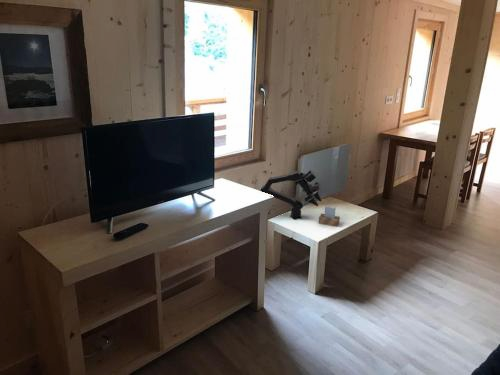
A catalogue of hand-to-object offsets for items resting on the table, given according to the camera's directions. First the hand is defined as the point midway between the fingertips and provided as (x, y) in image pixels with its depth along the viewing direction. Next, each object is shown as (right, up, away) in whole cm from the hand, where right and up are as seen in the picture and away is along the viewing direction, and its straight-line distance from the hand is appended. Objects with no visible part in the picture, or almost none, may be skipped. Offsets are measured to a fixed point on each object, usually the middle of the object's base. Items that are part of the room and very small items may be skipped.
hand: (319, 203), depth 286 cm
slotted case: (+7, -14, +2) cm, 15 cm away
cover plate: (+7, -12, +1) cm, 14 cm away
